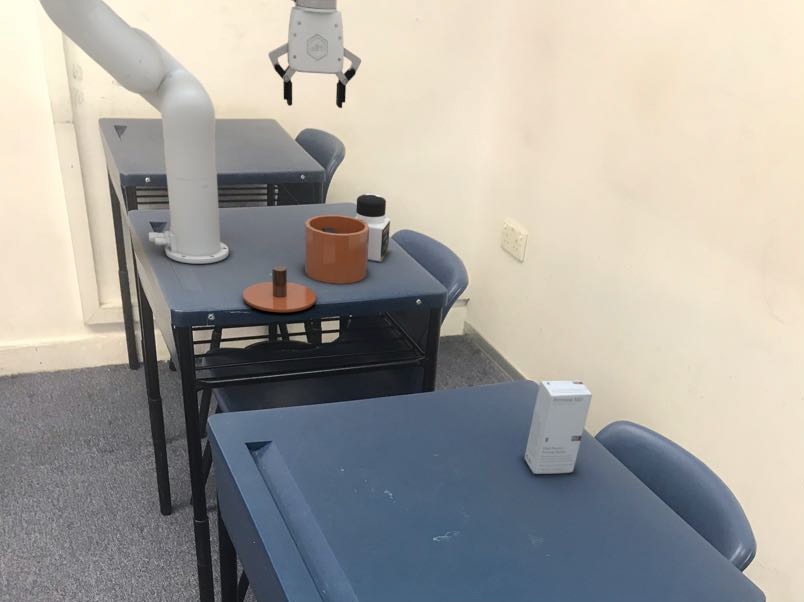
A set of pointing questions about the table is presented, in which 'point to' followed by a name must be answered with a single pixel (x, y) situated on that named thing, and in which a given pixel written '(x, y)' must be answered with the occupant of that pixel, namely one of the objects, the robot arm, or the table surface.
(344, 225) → the terracotta pot
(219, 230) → the robot arm
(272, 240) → the table surface
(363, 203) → the medicine bottle
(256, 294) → the lid
